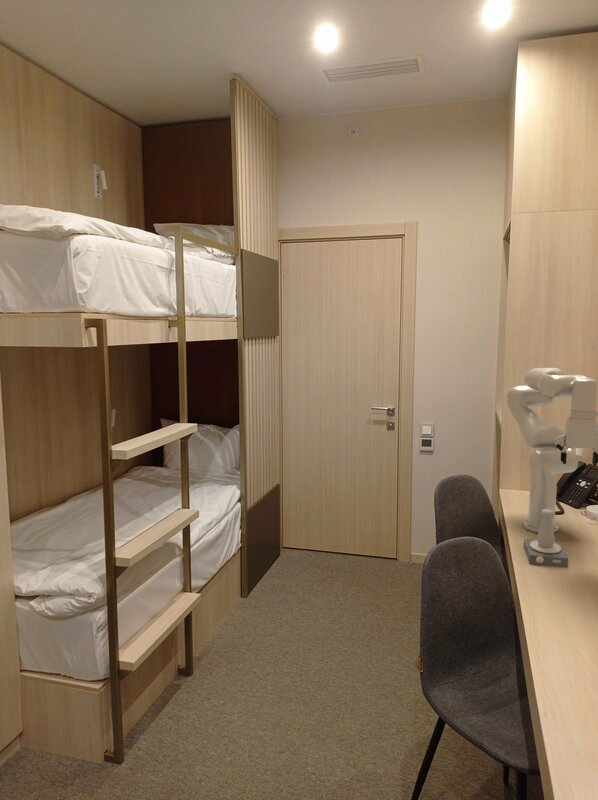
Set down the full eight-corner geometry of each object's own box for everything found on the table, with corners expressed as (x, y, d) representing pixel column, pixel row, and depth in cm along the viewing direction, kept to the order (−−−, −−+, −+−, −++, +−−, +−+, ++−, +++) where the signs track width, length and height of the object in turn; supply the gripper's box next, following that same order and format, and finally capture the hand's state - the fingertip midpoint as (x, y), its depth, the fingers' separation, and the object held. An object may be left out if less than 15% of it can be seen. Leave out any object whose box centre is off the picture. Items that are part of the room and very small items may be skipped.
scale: (523, 546, 210) (524, 536, 209) (559, 549, 207) (559, 539, 206) (529, 563, 196) (530, 553, 195) (567, 567, 193) (568, 556, 193)
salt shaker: (543, 550, 198) (545, 513, 196) (532, 543, 203) (535, 507, 201) (558, 548, 199) (560, 512, 197) (547, 541, 205) (549, 506, 202)
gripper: (607, 413, 198) (603, 462, 200) (553, 411, 202) (550, 459, 204) (614, 417, 190) (609, 468, 193) (557, 416, 194) (554, 465, 197)
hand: (579, 463), depth 199 cm, fingers open, 9 cm apart
